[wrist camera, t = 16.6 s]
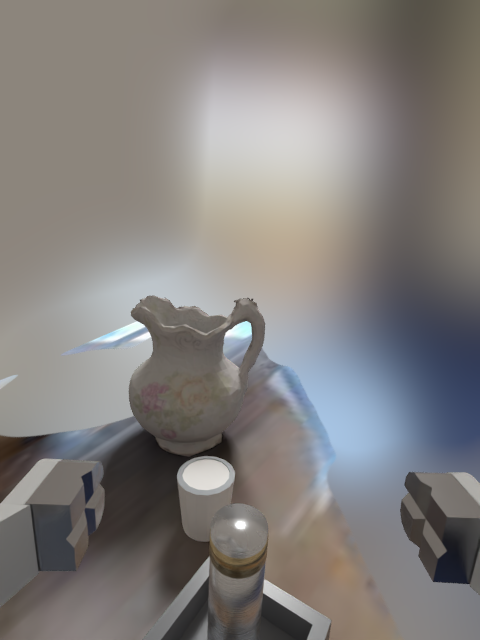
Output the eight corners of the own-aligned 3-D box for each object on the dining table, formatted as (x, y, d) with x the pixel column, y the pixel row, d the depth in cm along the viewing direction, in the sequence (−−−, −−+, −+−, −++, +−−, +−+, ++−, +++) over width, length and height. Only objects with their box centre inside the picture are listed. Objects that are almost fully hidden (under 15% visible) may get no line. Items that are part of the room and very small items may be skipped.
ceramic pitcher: (242, 410, 72) (244, 290, 68) (274, 462, 53) (279, 302, 49) (133, 420, 67) (128, 291, 62) (127, 482, 48) (119, 304, 44)
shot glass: (190, 556, 38) (190, 502, 36) (169, 512, 44) (168, 464, 42) (243, 531, 41) (246, 481, 40) (217, 494, 47) (218, 449, 45)
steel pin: (195, 678, 27) (197, 531, 23) (224, 629, 30) (231, 494, 27) (239, 717, 25) (249, 563, 21) (266, 660, 28) (278, 519, 25)
